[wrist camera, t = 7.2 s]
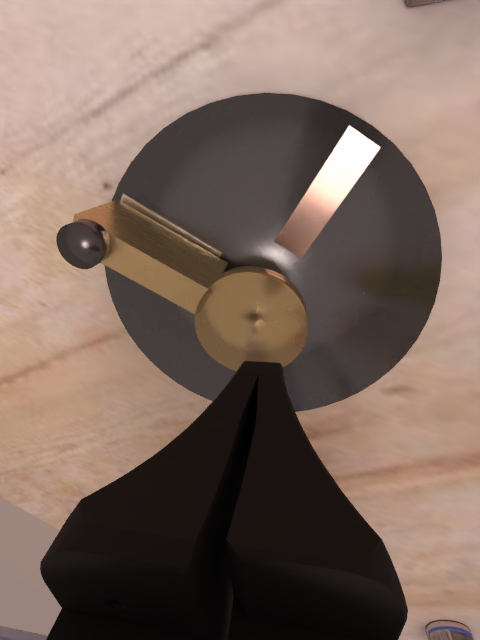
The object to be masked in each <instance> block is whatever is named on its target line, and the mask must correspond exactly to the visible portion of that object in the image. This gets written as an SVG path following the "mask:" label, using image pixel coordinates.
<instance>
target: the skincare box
mask: <svg viewBox="0 0 480 640" xmlns="http://www.w3.org/2000/svg"><path fill="white" fill-rule="evenodd" d="M439 1H444V0H406V2H407V4H408V6H418V5H424V4H429V3H434V2H439Z"/></svg>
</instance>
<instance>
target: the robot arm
mask: <svg viewBox="0 0 480 640" xmlns="http://www.w3.org/2000/svg"><path fill="white" fill-rule="evenodd" d="M40 569H41V575H42V577H43V579H44V582H45V583H46V585H47V586H48V588H49V589H50V591H51V592H52V594H53V595H54V597H55V598H56V600H57V601H58V603H59V604H60V606H61V607H62V610H61V612H60V613H59V616H58V617H57V620H56V621H55V624H54V625H53V627H52V629H51V631H50V633H49V635H48V636H46V635H42V634H37V633H32V632H27V631H23V630H18V629H13V628H8V627H4V626H0V640H398V639H399V636H400V634H401V632H402V629H403V627H404V625H405V622H406V620H407V613H408V609H407V605H406V601H405V597H404V594H403V591H402V587H401V584H400V582H399V579H398V576H397V573H396V571H395V568H394V566H393V563H392V561H391V558H390V556H389V554H388V552H387V550H386V547H385V545H384V543H383V541H382V539H381V538H380V537H379V536H378V535H377V533H376V532H375V531H374V530H373V529H372V528H371V527H370V525H369V524H368V523H367V522H366V521H365V520H364V518H363V517H362V516H361V515H360V514H359V512H358V511H357V510H356V509H355V508H354V506H353V505H352V504H351V502H350V501H349V500H348V498H347V497H346V496H345V495H344V493H343V492H342V491H341V489H340V488H339V487H338V485H337V484H336V482H335V481H334V479H333V478H332V476H331V475H330V474H329V472H328V471H327V469H326V468H325V466H324V465H323V463H322V462H321V460H320V459H319V457H318V455H317V454H316V452H315V450H314V449H313V447H312V445H311V443H310V442H309V440H308V438H307V436H306V434H305V432H304V430H303V428H302V426H301V424H300V422H299V420H298V418H297V416H296V413H295V411H294V408H293V406H292V403H291V400H290V398H289V395H288V392H287V389H286V385H285V381H284V377H283V366H282V365H281V364H280V363H274V362H255V361H244V362H243V363H242V364H241V366H240V367H239V369H238V370H237V372H236V373H235V374H234V376H233V377H232V379H231V380H230V381H229V383H228V384H227V385H226V386H225V388H224V389H223V390H222V391H221V393H220V394H219V395H218V396H217V397H216V399H215V400H214V401H213V402H212V403H211V404H210V405H209V406H208V407H207V409H206V410H205V411H204V412H203V413H202V414H201V415H200V416H199V417H198V418H197V419H196V420H195V421H194V422H193V423H192V424H191V425H190V426H189V427H188V428H187V429H186V430H184V431H183V432H182V433H181V434H180V435H179V436H178V437H176V438H175V439H174V440H173V441H172V442H170V443H169V444H168V445H167V446H165V447H164V448H163V449H162V450H160V451H159V452H158V453H156V454H155V455H154V456H152V457H151V458H149V459H148V460H146V461H145V462H144V463H142V464H141V465H139V466H138V467H136V468H135V469H133V470H132V471H130V472H129V473H127V474H126V475H124V476H122V477H121V478H119V479H117V480H116V481H114V482H112V483H110V484H108V485H107V486H105V487H103V488H101V489H100V490H98V491H96V492H94V493H92V494H91V495H89V496H87V497H85V498H83V499H81V501H80V502H79V503H78V505H77V506H76V508H75V509H74V510H73V512H72V513H71V514H70V516H69V517H68V519H67V520H66V522H65V524H64V525H63V527H62V528H61V530H60V532H59V533H58V535H57V537H56V538H55V540H54V541H53V543H52V545H51V546H50V548H49V550H48V551H47V553H46V555H45V556H44V558H43V559H42V561H41V568H40Z"/></svg>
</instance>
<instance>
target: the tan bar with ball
mask: <svg viewBox="0 0 480 640" xmlns="http://www.w3.org/2000/svg"><path fill="white" fill-rule="evenodd" d="M57 246H58V249H59V251H60V253H61V255H62V256H63V258H64V259H65V260H66V261H67V262H68V263H70V264H71V265H73V266H75V267H77V268H81V269H89V268H92V267H94V266H95V265H97V264H98V263H102V264H104V265H106V266H107V267H109V268H111V269H113V270H115V271H117V272H118V273H120V274H122V275H124V276H126V277H128V278H129V279H131V280H133V281H135V282H137V283H139V284H140V285H142V286H144V287H146V288H148V289H150V290H151V291H153V292H155V293H157V294H159V295H160V296H162V297H164V298H166V299H168V300H170V301H171V302H173V303H175V304H177V305H179V306H181V307H182V308H184V309H186V310H188V311H190V312H192V313H193V314H195V329H196V333H197V337H198V339H199V341H200V343H201V345H202V346H203V348H204V349H205V351H206V352H207V353H208V354H209V355H210V356H211V357H212V358H213V359H214V360H216V361H217V362H218V363H220V364H222V365H223V366H225V367H227V368H229V369H232V370H235V371H237V370H238V369H239V367H240V366H241V364H242V363H243V362H244V361H255V362H274V363H280V364H281V365H282V366H283V367H285V366H286V365H288V364H289V363H291V362H292V361H293V360H294V359H295V358H296V357H297V356H298V355H299V353H300V352H301V351H302V349H303V347H304V345H305V342H306V339H307V333H308V321H307V309H306V305H305V301H304V299H303V297H302V295H301V293H300V292H299V290H298V289H297V288H296V286H295V285H294V284H293V283H292V282H291V281H290V280H288V279H287V278H286V277H284V276H283V275H281V274H279V273H277V272H275V271H273V270H270V269H267V268H263V267H256V266H244V267H238V268H235V269H231V270H229V271H227V272H224V273H223V271H224V270H225V268H226V266H227V264H228V263H227V262H226V261H224V260H222V259H220V258H219V257H217V256H215V255H213V254H212V253H210V252H208V251H206V250H205V249H203V248H201V247H199V246H198V245H196V244H194V243H192V242H191V241H189V240H187V239H185V238H184V237H182V236H180V235H178V234H177V233H175V232H173V231H172V230H170V229H168V228H166V227H165V226H163V225H161V224H159V223H158V222H156V221H154V220H152V219H151V218H149V217H147V216H145V215H144V214H142V213H140V212H138V211H137V210H135V209H133V208H131V207H130V206H128V205H126V204H124V203H123V202H121V201H119V200H115V201H112V202H109V203H106V204H104V205H101V206H98V207H95V208H92V209H89V210H86V211H83V212H80V213H77V214H75V215H74V219H73V223H70V224H67V225H65V226H63V227H62V228H61V229H60V230H59V232H58V234H57ZM222 273H223V274H222Z"/></svg>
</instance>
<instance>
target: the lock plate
mask: <svg viewBox="0 0 480 640" xmlns="http://www.w3.org/2000/svg"><path fill="white" fill-rule="evenodd" d="M115 200H119V201H121V202H123V203H124V204H126V205H128V206H130V207H131V208H133V209H135V210H137V211H138V212H140V213H142V214H144V215H145V216H147V217H149V218H151V219H152V220H154V221H156V222H158V223H159V224H161V225H163V226H165V227H166V228H168V229H170V230H172V231H173V232H175V233H177V234H178V235H180V236H182V237H184V238H185V239H187V240H189V241H191V242H192V243H194V244H196V245H198V246H199V247H201V248H203V249H205V250H206V251H208V252H210V253H212V254H213V255H215V256H217V257H219V258H220V259H222V260H224V261H226V262H227V263H228V264H227V266H226V268H225V270H224V271H223V273H224V272H227V271H229V270H231V269H235V268H238V267H244V266H256V267H263V268H267V269H270V270H273V271H275V272H277V273H279V274H281V275H283V276H284V277H286V278H287V279H288V280H290V281H291V282H292V283H293V284H294V285H295V286H296V288H297V289H298V290H299V292H300V293H301V295H302V297H303V299H304V301H305V305H306V309H307V321H308V333H307V339H306V342H305V345H304V347H303V349H302V351H301V352H300V353H299V355H298V356H297V357H296V358H295V359H294V360H293V361H292V362H291V363H289V364H288V365H286V366H285V367H283V377H284V381H285V385H286V389H287V392H288V395H289V398H290V400H291V403H292V406H293V408H294V411H295V412H296V411H304V410H310V409H314V408H318V407H323V406H327V405H329V404H332V403H335V402H338V401H341V400H343V399H346V398H348V397H350V396H352V395H354V394H356V393H358V392H360V391H362V390H363V389H365V388H367V387H368V386H370V385H371V384H373V383H375V382H376V381H377V380H379V379H380V378H381V377H382V376H384V375H385V374H386V373H387V372H389V371H390V370H391V369H392V368H393V367H394V366H395V365H396V364H397V363H398V362H399V361H400V360H401V359H402V358H403V357H404V356H405V354H406V353H407V352H408V350H409V349H410V348H411V347H412V345H413V344H414V343H415V341H416V340H417V338H418V336H419V335H420V333H421V331H422V329H423V328H424V326H425V324H426V322H427V320H428V318H429V315H430V313H431V310H432V308H433V305H434V303H435V299H436V295H437V290H438V286H439V282H440V273H441V261H442V253H441V239H440V231H439V227H438V222H437V218H436V214H435V210H434V207H433V205H432V202H431V200H430V198H429V195H428V193H427V190H426V188H425V186H424V184H423V182H422V181H421V179H420V178H419V176H418V174H417V173H416V171H415V169H414V168H413V166H412V164H411V163H410V162H409V161H408V160H407V159H406V157H405V156H404V155H403V154H402V153H401V152H400V150H399V149H398V148H397V147H396V146H395V145H394V143H392V142H391V141H390V140H389V139H388V138H386V137H385V136H384V135H383V134H382V133H380V132H379V131H378V130H377V129H376V128H374V127H373V126H372V125H370V124H369V123H367V122H365V121H364V120H362V119H360V118H358V117H357V116H355V115H353V114H352V113H350V112H348V111H346V110H343V109H341V108H338V107H336V106H333V105H331V104H328V103H326V102H323V101H320V100H316V99H311V98H306V97H302V96H297V95H291V94H272V93H261V94H251V95H242V96H235V97H231V98H227V99H224V100H220V101H216V102H213V103H209V104H207V105H205V106H203V107H200V108H198V109H196V110H194V111H192V112H189V113H187V114H185V115H184V116H182V117H181V118H179V119H177V120H176V121H174V122H173V123H171V124H170V125H168V126H167V127H165V128H164V129H163V130H162V131H161V132H159V133H158V134H157V135H156V136H155V137H154V138H153V139H152V140H151V141H149V142H148V143H147V144H146V145H145V146H144V148H143V149H142V150H141V151H140V153H139V154H138V155H137V156H136V157H135V159H134V160H133V161H132V162H131V164H130V166H129V167H128V169H127V171H126V172H125V174H124V176H123V177H122V179H121V181H120V182H119V185H118V187H117V190H116V192H115V195H114V197H113V199H112V201H115ZM105 271H106V277H107V283H108V286H109V290H110V293H111V297H112V300H113V303H114V305H115V308H116V310H117V312H118V315H119V317H120V319H121V321H122V323H123V324H124V326H125V328H126V330H127V331H128V333H129V335H130V336H131V337H132V339H133V340H134V342H135V343H136V344H137V346H138V347H139V348H140V350H141V351H142V352H143V353H144V354H145V355H146V356H147V357H148V359H149V360H150V361H151V362H152V363H154V364H155V365H156V366H157V367H158V368H159V369H160V370H161V371H162V372H163V373H165V374H166V375H167V376H169V377H170V378H171V379H173V380H174V381H175V382H177V383H178V384H180V385H182V386H183V387H185V388H187V389H188V390H190V391H192V392H194V393H196V394H198V395H200V396H202V397H204V398H206V399H209V400H212V401H214V400H215V399H216V397H217V396H218V395H219V394H220V393H221V391H222V390H223V389H224V388H225V386H226V385H227V384H228V383H229V381H230V380H231V379H232V377H233V376H234V374H235V373H236V372H237V371H235V370H232V369H229V368H227V367H225V366H223V365H222V364H220V363H218V362H217V361H216V360H214V359H213V358H212V357H211V356H210V355H209V354H208V353H207V352H206V351H205V349H204V348H203V346H202V345H201V343H200V341H199V339H198V337H197V333H196V329H195V314H193V313H192V312H190V311H188V310H186V309H184V308H182V307H181V306H179V305H177V304H175V303H173V302H171V301H170V300H168V299H166V298H164V297H162V296H160V295H159V294H157V293H155V292H153V291H151V290H150V289H148V288H146V287H144V286H142V285H140V284H139V283H137V282H135V281H133V280H131V279H129V278H128V277H126V276H124V275H122V274H120V273H118V272H117V271H115V270H113V269H111V268H109V267H107V266H106V265H105ZM223 273H222V274H223Z"/></svg>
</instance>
